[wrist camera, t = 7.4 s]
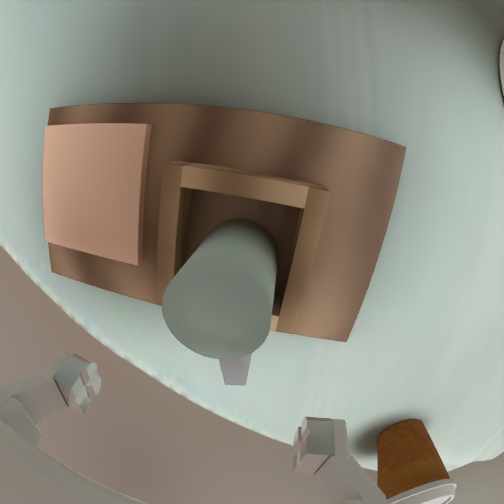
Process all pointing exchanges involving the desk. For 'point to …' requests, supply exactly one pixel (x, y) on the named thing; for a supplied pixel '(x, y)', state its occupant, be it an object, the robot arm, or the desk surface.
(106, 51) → the desk surface
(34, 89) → the desk surface
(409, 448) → the disposable coffee cup
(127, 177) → the terracotta coaster
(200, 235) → the walnut board
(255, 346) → the pale blue rounded piece
